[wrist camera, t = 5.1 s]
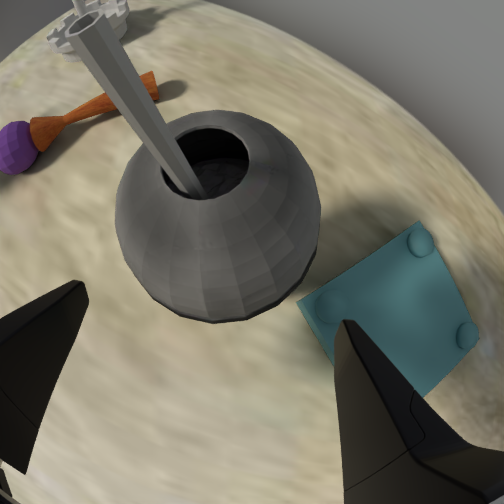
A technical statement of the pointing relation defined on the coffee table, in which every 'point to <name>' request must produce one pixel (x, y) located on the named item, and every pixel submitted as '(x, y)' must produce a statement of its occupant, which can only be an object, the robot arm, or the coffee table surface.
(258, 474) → the coffee table surface
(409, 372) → the base brick
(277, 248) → the beverage cup
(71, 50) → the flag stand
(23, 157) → the kendama
